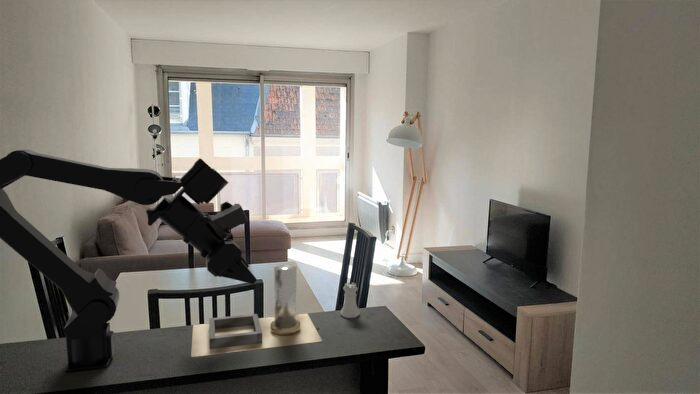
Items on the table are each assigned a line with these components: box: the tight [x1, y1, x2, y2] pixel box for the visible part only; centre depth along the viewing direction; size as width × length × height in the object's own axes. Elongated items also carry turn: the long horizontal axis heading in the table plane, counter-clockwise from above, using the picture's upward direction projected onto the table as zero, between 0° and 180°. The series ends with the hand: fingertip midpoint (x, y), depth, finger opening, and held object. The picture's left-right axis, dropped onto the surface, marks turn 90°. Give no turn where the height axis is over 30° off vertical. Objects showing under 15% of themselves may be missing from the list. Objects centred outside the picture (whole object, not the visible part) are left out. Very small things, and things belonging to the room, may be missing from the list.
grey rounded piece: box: [271, 264, 300, 336], centre depth 92 cm, size 6×6×13 cm
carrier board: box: [190, 313, 323, 358], centre depth 91 cm, size 24×14×3 cm, turn 107°
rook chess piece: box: [340, 281, 361, 319], centre depth 101 cm, size 4×4×8 cm
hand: (251, 274), depth 89 cm, fingers open, 9 cm apart
